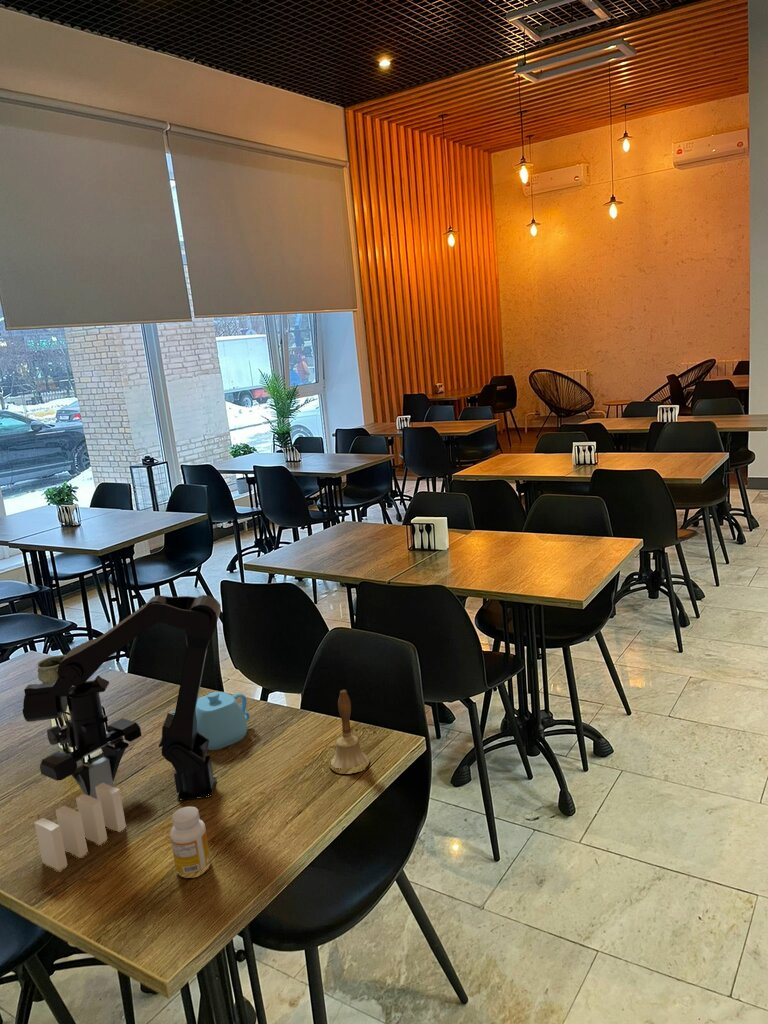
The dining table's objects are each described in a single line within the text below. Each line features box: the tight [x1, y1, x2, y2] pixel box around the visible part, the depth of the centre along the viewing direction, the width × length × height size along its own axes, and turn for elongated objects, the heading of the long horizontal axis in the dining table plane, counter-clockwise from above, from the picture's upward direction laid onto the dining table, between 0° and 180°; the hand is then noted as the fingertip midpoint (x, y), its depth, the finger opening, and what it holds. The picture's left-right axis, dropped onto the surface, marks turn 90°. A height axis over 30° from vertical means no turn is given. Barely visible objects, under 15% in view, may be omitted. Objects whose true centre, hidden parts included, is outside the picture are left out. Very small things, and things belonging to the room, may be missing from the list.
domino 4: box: [95, 783, 127, 831], centre depth 140 cm, size 2×5×8 cm, turn 56°
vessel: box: [36, 654, 67, 684], centre depth 210 cm, size 12×9×6 cm
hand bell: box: [330, 689, 368, 769], centre depth 154 cm, size 8×8×16 cm
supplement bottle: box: [169, 806, 211, 874], centre depth 126 cm, size 6×6×10 cm
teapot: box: [169, 691, 250, 751], centre depth 169 cm, size 13×11×18 cm
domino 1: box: [33, 817, 68, 870], centre depth 130 cm, size 2×5×8 cm, turn 56°
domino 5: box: [75, 793, 108, 844], centre depth 137 cm, size 2×5×8 cm, turn 56°
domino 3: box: [86, 756, 115, 799], centre depth 148 cm, size 2×5×8 cm, turn 146°
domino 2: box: [54, 805, 89, 857], centre depth 134 cm, size 2×5×8 cm, turn 56°
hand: (99, 787), depth 148 cm, fingers closed on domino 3, 5 cm apart
